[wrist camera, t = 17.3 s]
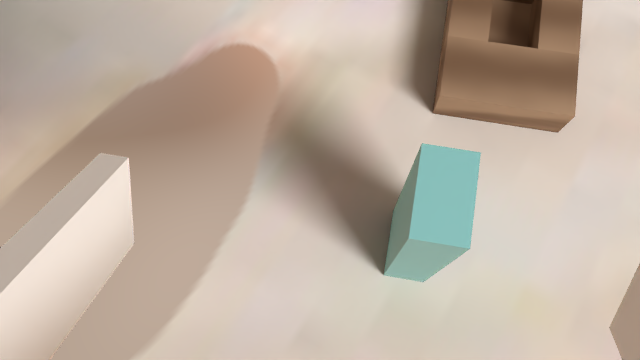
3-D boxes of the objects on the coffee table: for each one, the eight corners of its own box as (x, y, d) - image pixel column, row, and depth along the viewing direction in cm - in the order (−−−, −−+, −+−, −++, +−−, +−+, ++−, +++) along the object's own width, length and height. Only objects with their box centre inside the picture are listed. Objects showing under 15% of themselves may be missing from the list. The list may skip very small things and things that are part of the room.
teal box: (423, 282, 44) (469, 248, 29) (383, 275, 44) (408, 238, 29) (431, 217, 45) (480, 152, 30) (393, 211, 46) (421, 143, 30)
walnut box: (557, 132, 47) (574, 116, 44) (432, 113, 48) (439, 95, 44) (570, -39, 51) (587, -66, 48) (455, -54, 52) (463, -82, 48)
